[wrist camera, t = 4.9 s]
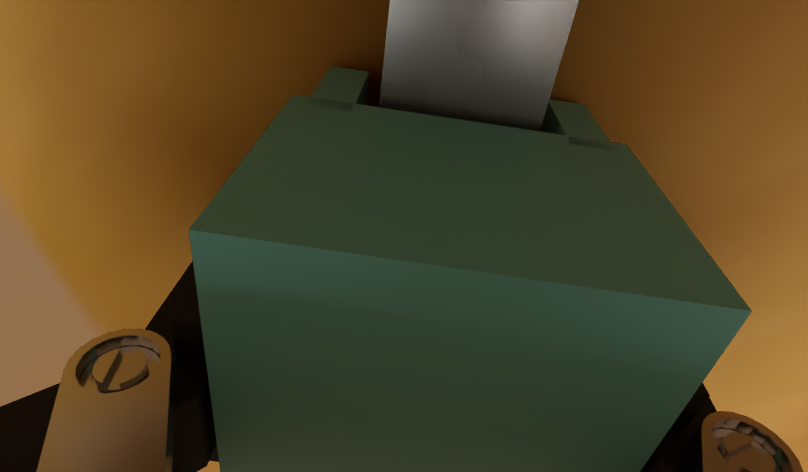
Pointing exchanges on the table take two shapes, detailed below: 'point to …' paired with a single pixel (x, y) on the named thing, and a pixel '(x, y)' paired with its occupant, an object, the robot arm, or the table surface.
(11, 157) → the table surface
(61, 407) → the robot arm
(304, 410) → the carriage
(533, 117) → the rail
